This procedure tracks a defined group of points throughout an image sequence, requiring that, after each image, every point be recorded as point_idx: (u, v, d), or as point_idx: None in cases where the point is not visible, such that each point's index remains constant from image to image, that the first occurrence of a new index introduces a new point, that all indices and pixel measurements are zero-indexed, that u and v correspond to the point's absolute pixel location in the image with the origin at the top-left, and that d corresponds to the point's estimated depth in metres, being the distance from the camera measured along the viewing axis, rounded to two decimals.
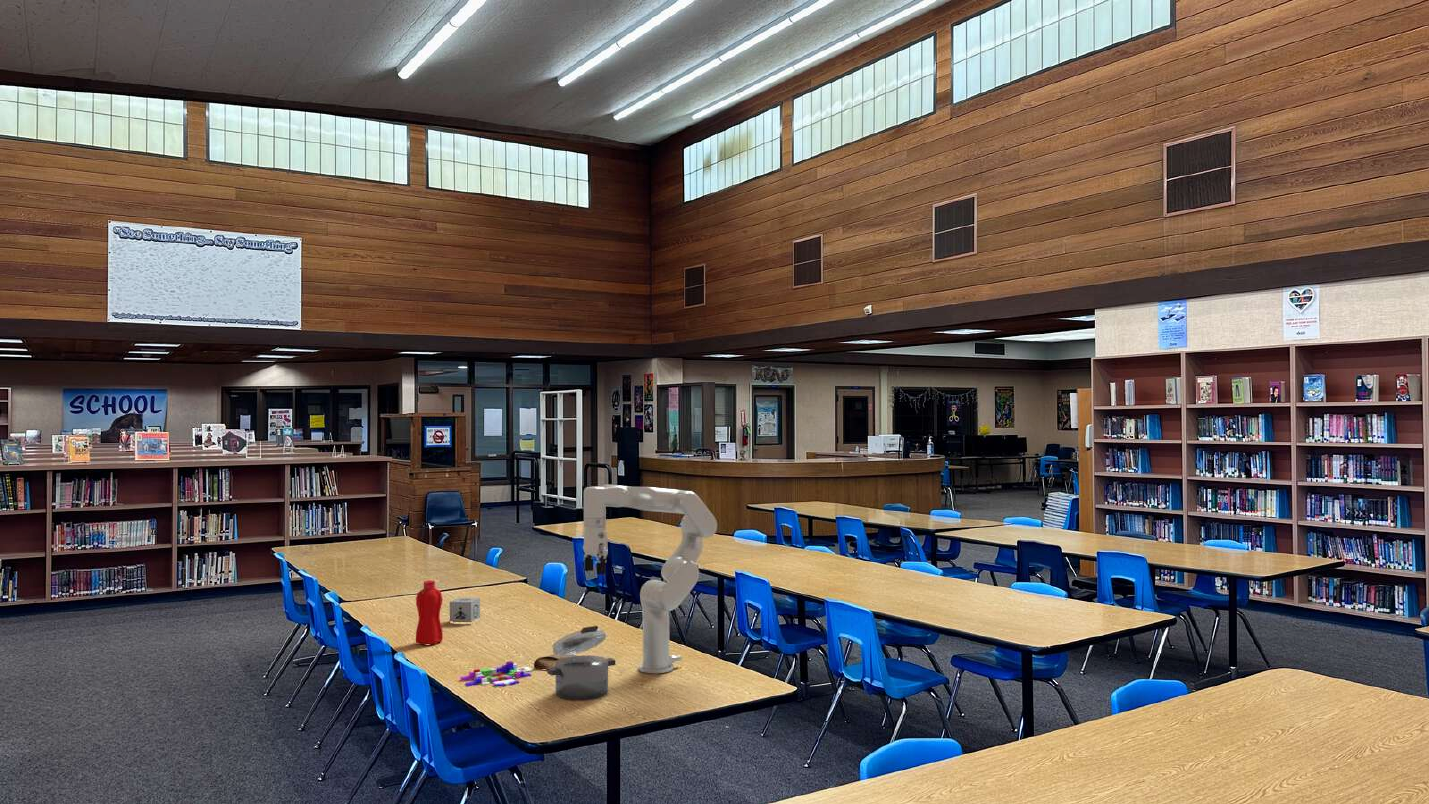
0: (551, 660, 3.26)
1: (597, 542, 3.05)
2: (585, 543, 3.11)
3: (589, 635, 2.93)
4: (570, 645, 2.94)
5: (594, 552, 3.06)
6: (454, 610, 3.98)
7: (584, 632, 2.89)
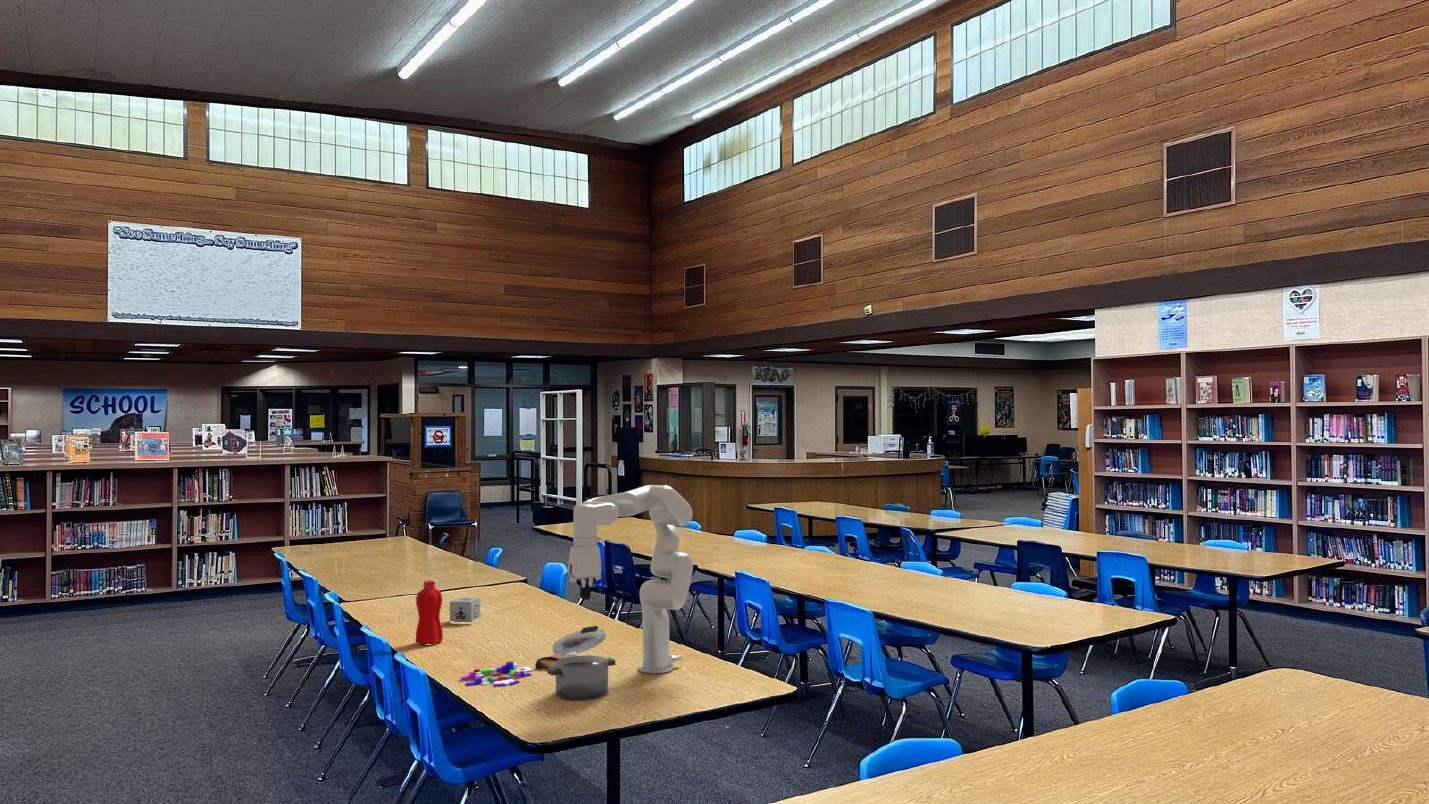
0: (552, 660, 3.26)
1: None
2: (581, 566, 2.90)
3: (589, 635, 2.93)
4: (570, 645, 2.94)
5: (599, 571, 2.93)
6: (454, 610, 3.98)
7: (584, 632, 2.89)
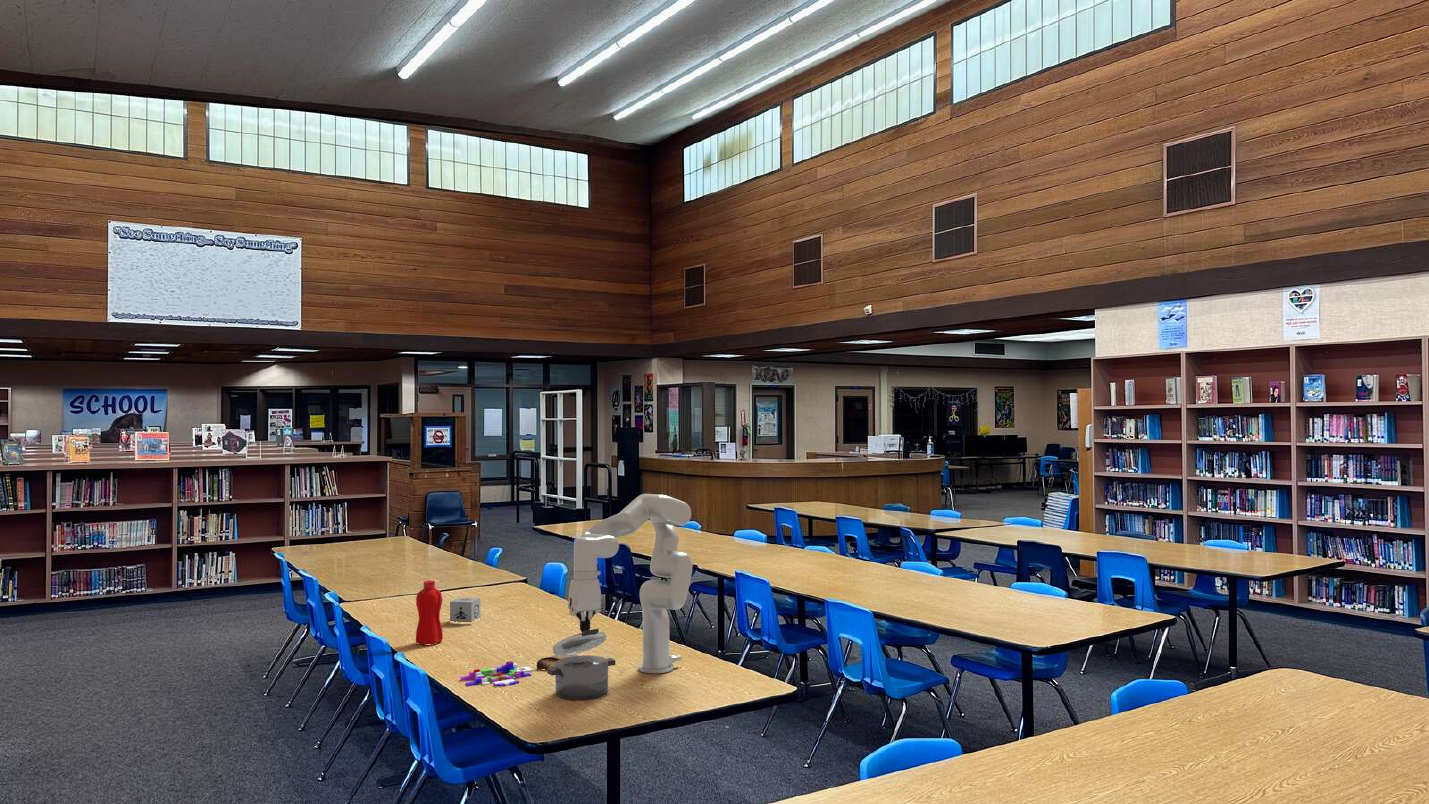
0: (554, 661, 3.25)
1: None
2: (581, 600, 2.89)
3: (590, 637, 2.92)
4: (570, 646, 2.94)
5: (599, 605, 2.93)
6: (454, 610, 3.98)
7: (585, 635, 2.88)
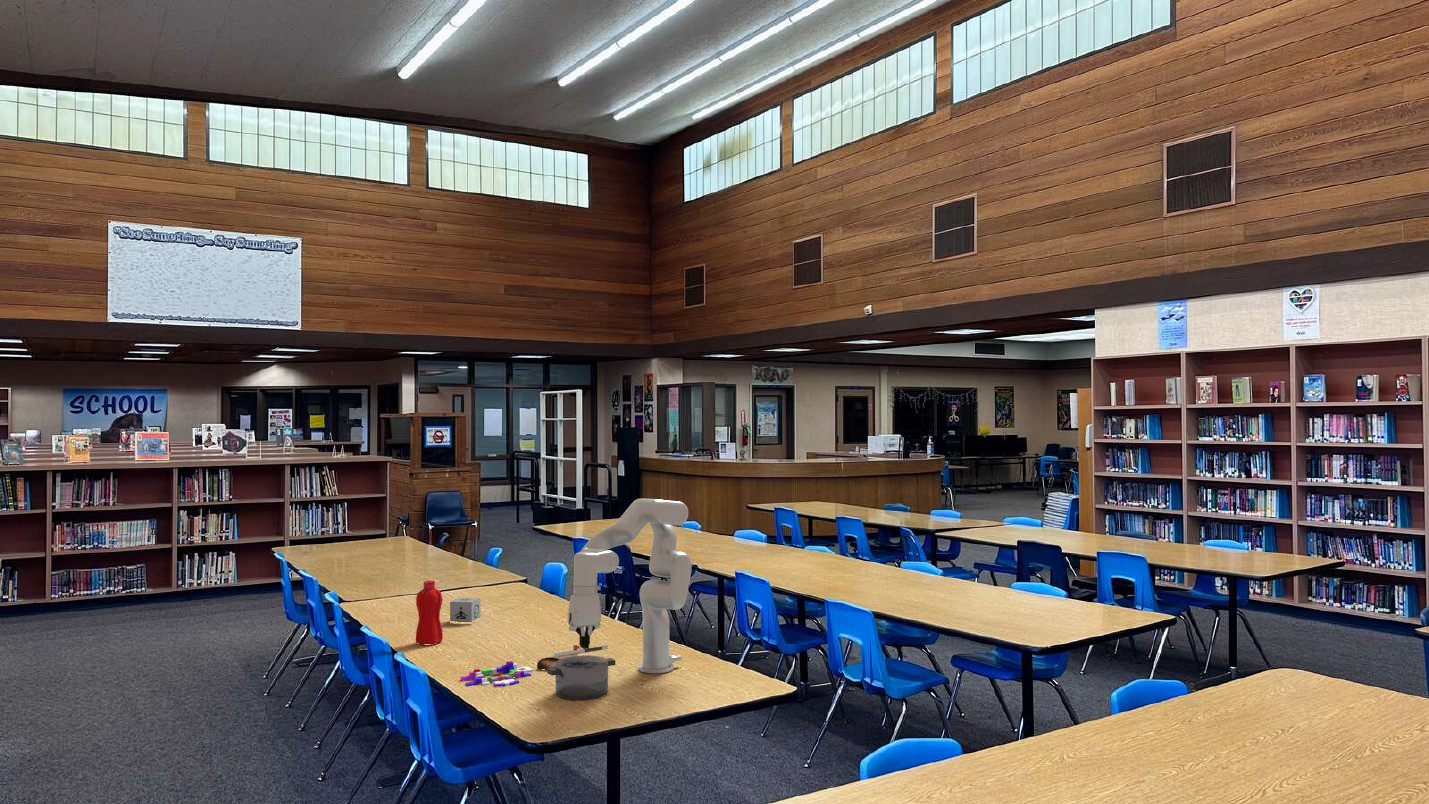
0: (554, 661, 3.25)
1: None
2: (581, 615, 2.89)
3: None
4: None
5: (598, 620, 2.92)
6: (454, 610, 3.98)
7: None
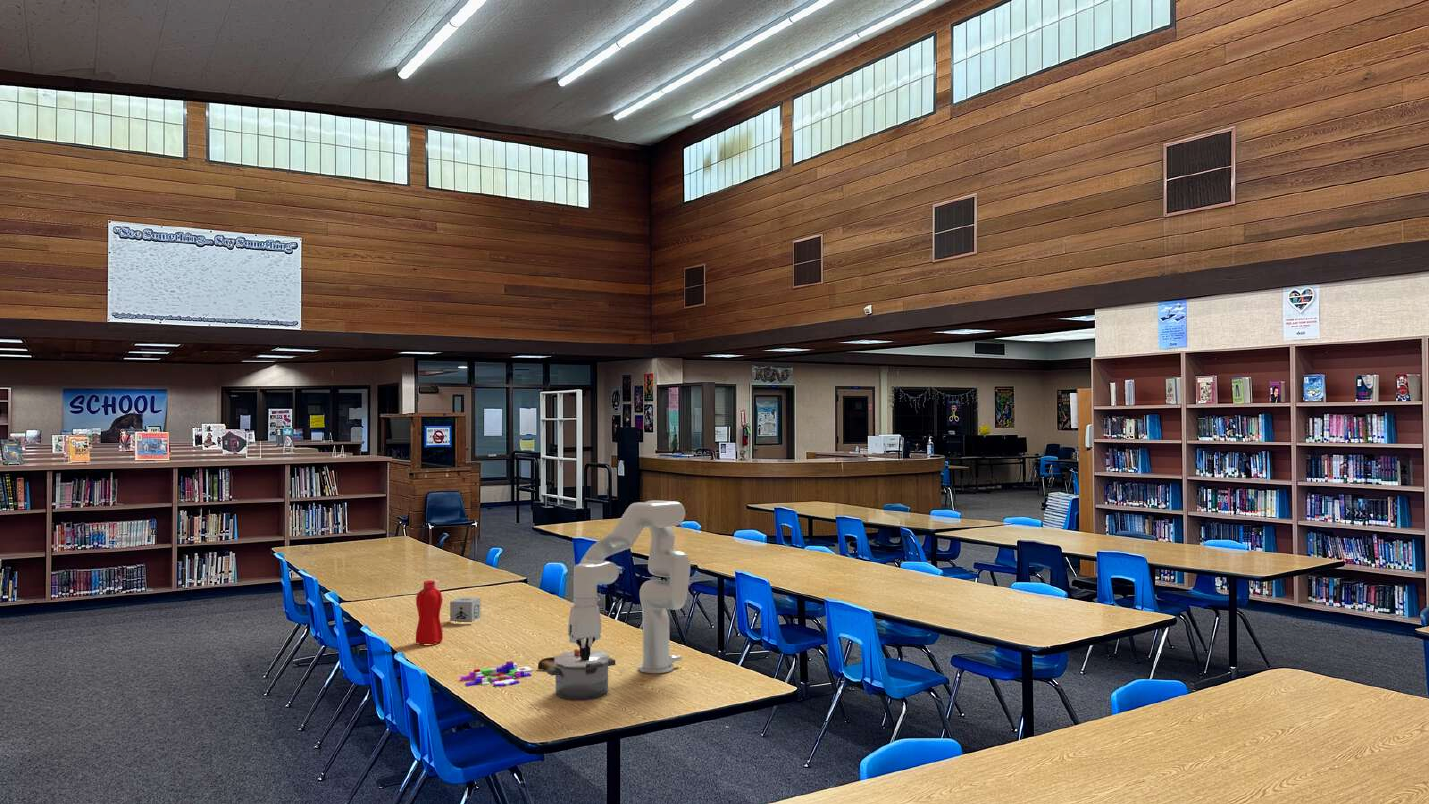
0: None
1: None
2: (581, 627, 2.89)
3: None
4: None
5: (598, 631, 2.92)
6: (455, 610, 3.98)
7: None
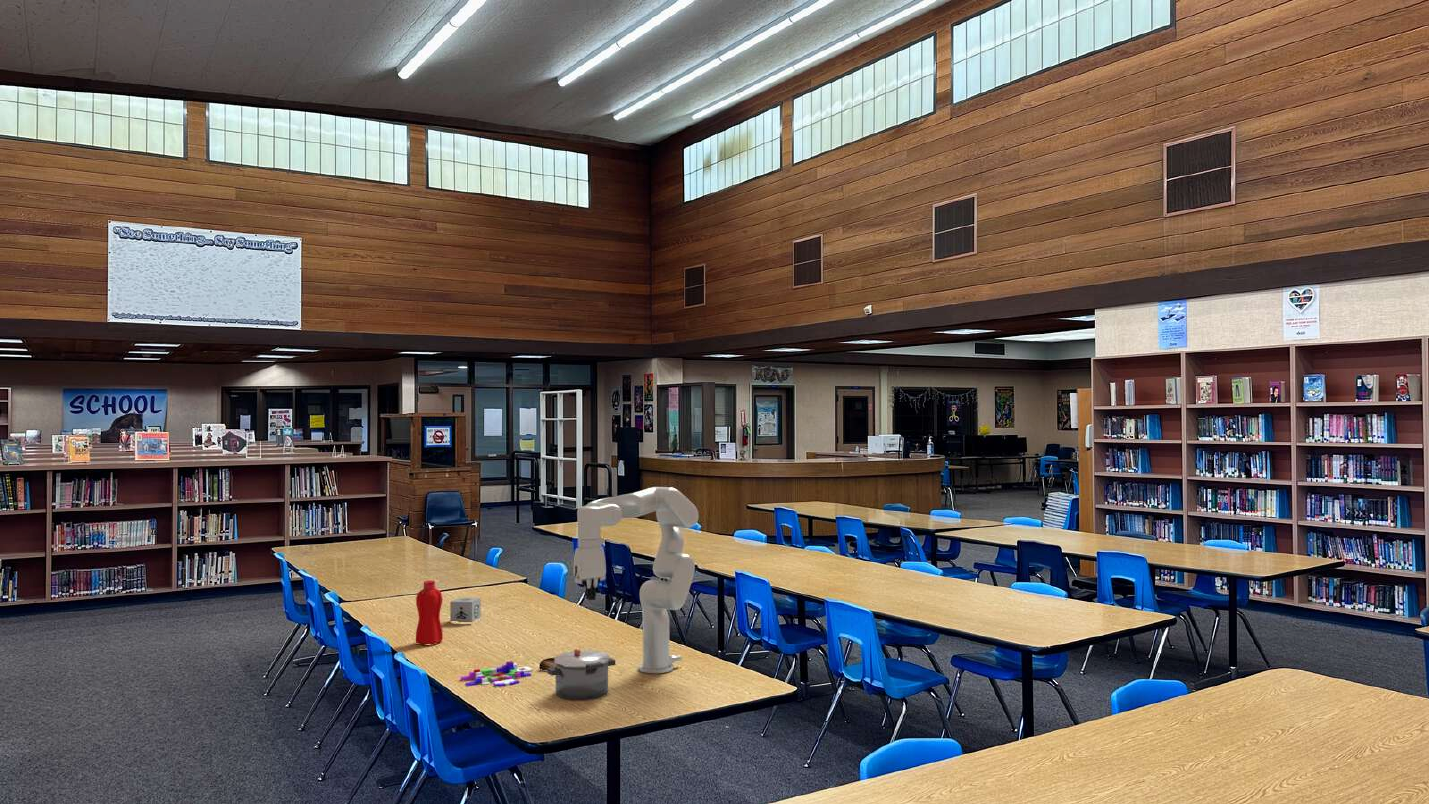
0: None
1: None
2: (586, 567, 2.94)
3: None
4: None
5: (603, 572, 2.97)
6: (455, 610, 3.98)
7: None
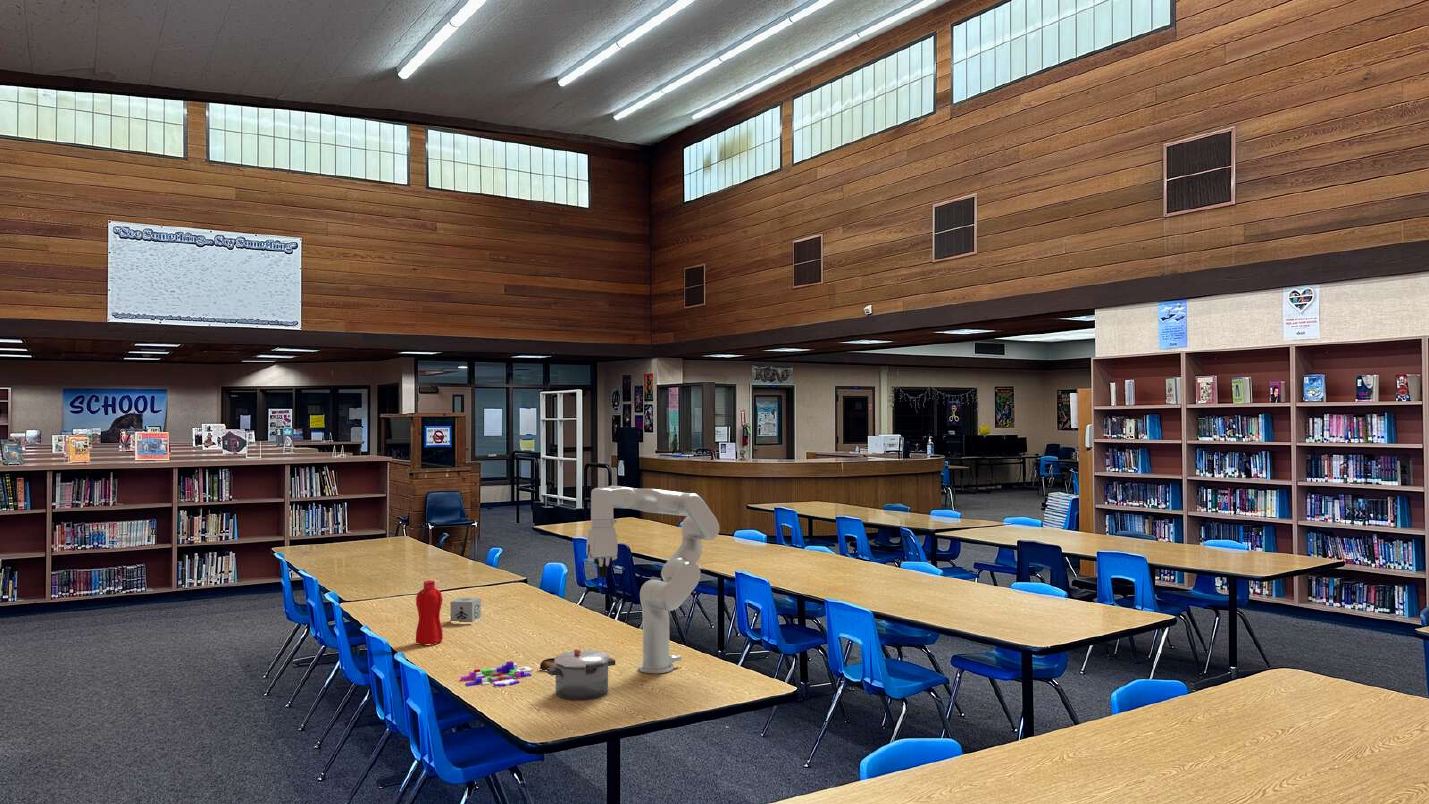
0: None
1: None
2: (598, 546, 3.06)
3: None
4: None
5: (615, 551, 3.10)
6: (455, 610, 3.98)
7: None
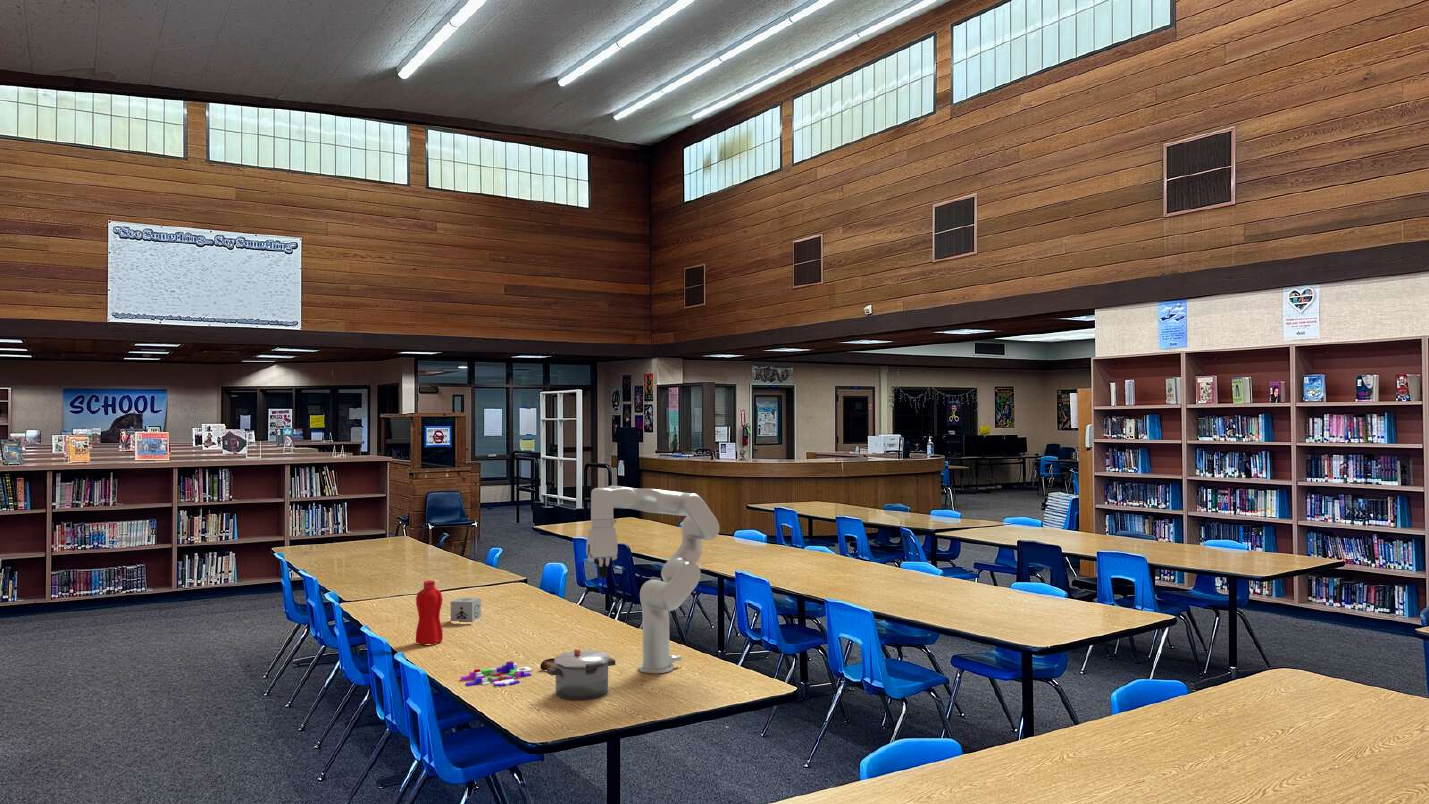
0: None
1: None
2: (598, 546, 3.06)
3: None
4: None
5: (615, 551, 3.10)
6: (455, 610, 3.98)
7: None
